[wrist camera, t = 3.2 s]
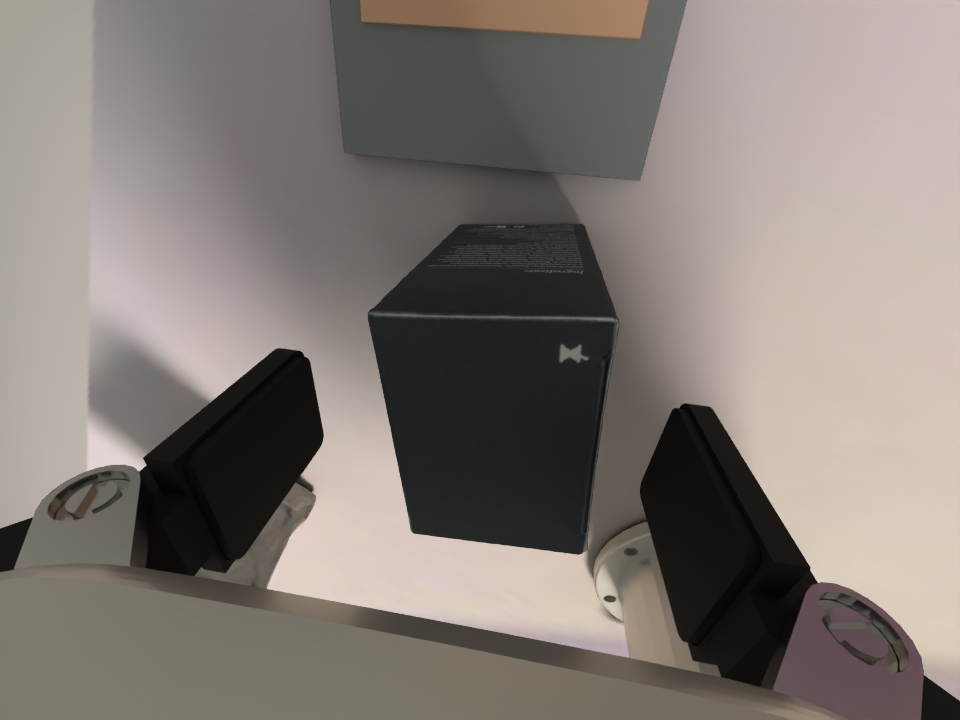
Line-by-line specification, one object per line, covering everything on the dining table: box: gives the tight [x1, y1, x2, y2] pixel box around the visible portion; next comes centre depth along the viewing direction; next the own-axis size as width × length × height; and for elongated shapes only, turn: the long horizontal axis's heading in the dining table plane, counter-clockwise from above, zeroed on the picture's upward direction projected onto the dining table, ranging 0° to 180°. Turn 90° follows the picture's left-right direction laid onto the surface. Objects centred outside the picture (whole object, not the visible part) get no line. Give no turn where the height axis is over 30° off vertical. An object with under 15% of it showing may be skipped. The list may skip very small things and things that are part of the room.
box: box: [368, 223, 619, 555], centre depth 14 cm, size 8×6×11 cm
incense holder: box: [195, 483, 316, 589], centre depth 25 cm, size 10×8×10 cm
